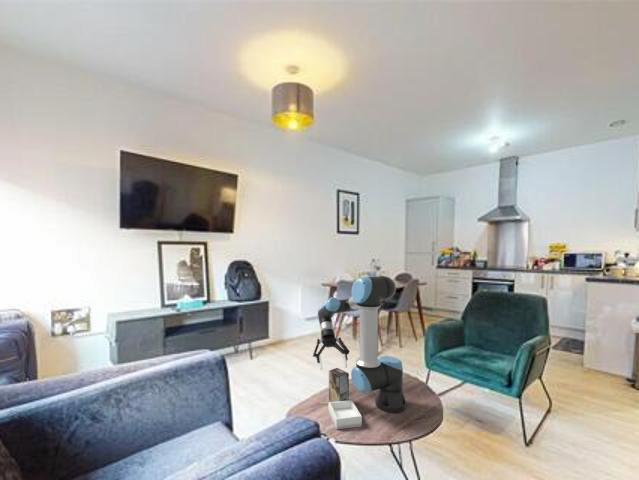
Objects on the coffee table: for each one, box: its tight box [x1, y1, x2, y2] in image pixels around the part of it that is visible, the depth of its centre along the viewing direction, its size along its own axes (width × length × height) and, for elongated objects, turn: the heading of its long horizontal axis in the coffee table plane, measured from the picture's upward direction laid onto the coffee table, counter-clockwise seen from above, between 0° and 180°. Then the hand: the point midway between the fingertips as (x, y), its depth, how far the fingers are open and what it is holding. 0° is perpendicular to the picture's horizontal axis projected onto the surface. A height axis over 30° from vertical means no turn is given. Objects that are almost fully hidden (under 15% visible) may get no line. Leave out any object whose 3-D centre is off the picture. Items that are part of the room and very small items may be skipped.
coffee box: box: [328, 367, 350, 403], centre depth 161 cm, size 9×6×16 cm
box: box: [328, 399, 363, 430], centre depth 147 cm, size 12×15×4 cm
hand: (333, 367), depth 169 cm, fingers open, 13 cm apart
